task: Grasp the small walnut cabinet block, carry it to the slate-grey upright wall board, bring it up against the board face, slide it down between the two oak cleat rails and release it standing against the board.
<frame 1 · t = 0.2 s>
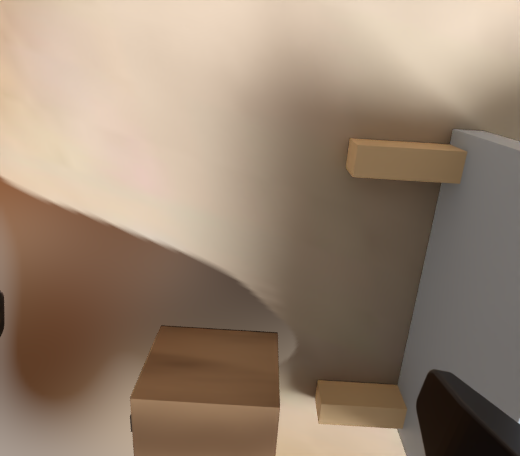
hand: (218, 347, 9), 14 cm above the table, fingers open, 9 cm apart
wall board: (431, 290, 24), on the table
cabinet block: (218, 362, 26), on the table
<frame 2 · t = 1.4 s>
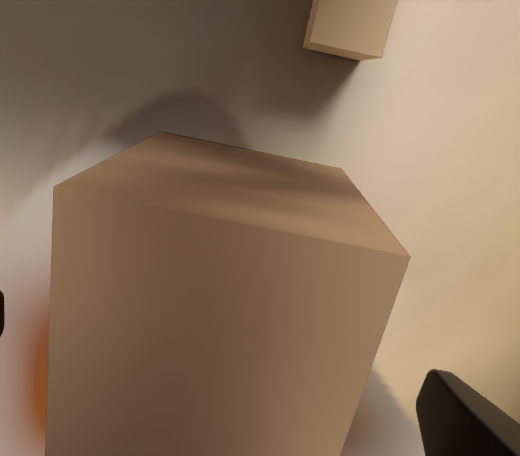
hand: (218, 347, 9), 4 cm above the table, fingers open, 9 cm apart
cabinet block: (229, 264, 13), on the table
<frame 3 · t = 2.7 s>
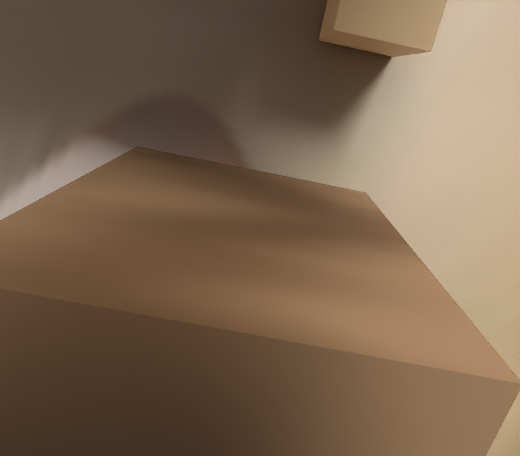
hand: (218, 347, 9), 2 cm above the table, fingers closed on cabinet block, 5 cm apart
cabinet block: (225, 309, 10), on the table, touching gripper
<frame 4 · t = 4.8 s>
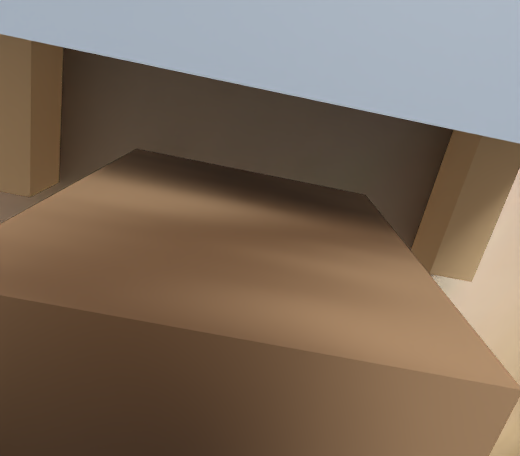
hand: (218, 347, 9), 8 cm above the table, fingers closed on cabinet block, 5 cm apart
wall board: (269, 55, 14), on the table
cabinet block: (225, 311, 10), point 6 cm above the table, touching gripper
when the fingers open (3 cm above the table, at t = 6.9 s): cabinet block drops 2 cm, on the table.
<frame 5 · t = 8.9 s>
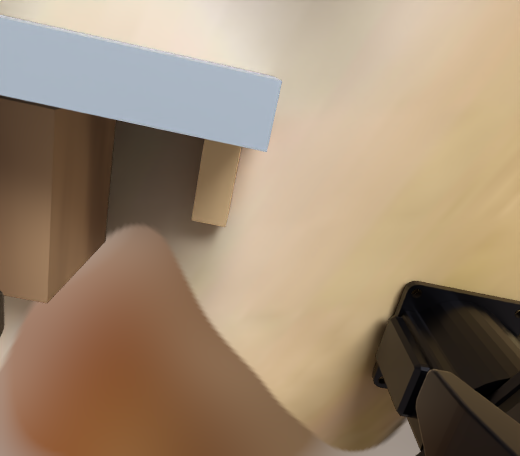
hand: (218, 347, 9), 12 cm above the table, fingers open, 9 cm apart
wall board: (61, 47, 18), on the table
cabinet block: (58, 162, 20), on the table
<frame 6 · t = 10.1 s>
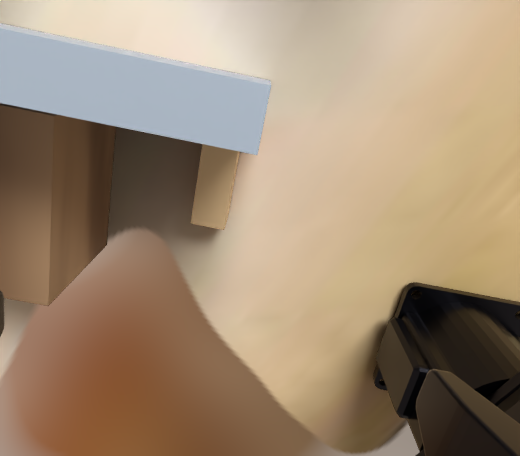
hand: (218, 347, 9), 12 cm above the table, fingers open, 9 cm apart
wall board: (62, 55, 18), on the table
cabinet block: (60, 168, 20), on the table
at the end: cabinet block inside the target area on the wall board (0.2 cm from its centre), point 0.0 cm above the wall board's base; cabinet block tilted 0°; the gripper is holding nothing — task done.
